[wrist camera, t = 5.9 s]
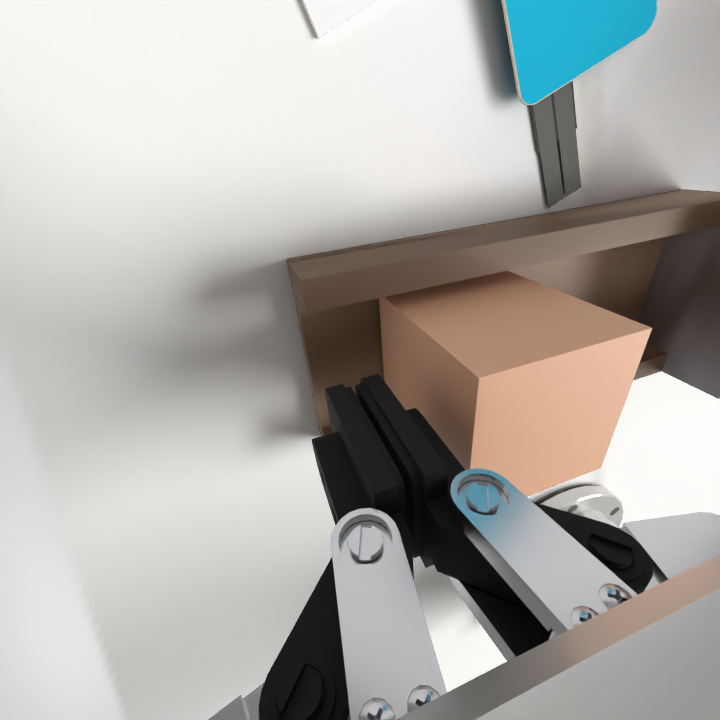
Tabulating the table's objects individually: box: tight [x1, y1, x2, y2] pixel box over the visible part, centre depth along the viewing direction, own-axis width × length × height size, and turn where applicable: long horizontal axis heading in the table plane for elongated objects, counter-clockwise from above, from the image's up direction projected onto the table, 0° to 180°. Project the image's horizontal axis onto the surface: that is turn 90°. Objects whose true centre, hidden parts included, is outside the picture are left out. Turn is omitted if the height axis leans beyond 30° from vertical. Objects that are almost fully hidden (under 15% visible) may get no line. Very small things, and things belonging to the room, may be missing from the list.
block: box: [379, 271, 652, 497], centre depth 12 cm, size 5×5×6 cm
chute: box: [287, 190, 720, 436], centre depth 14 cm, size 8×18×5 cm, turn 95°
